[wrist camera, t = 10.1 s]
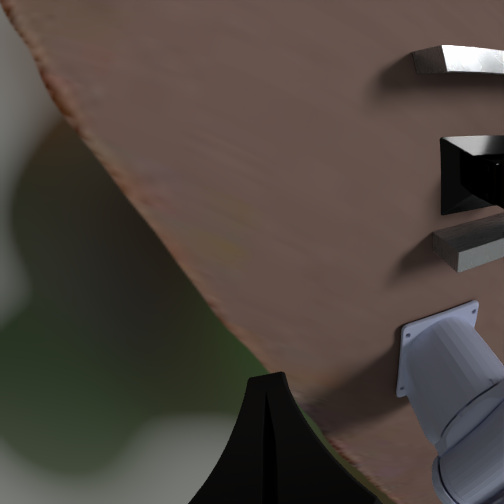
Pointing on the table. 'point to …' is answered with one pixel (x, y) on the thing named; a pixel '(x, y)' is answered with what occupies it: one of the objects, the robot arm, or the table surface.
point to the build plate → (471, 173)
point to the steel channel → (483, 230)
